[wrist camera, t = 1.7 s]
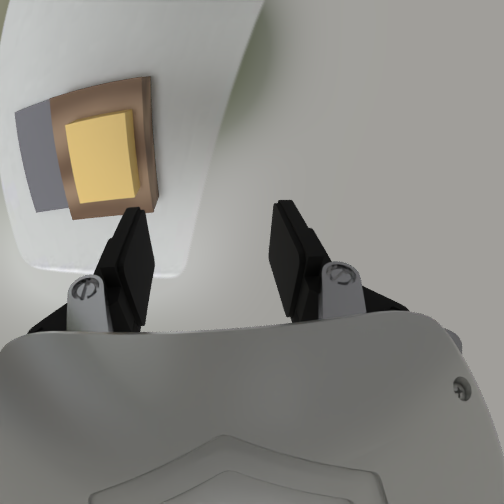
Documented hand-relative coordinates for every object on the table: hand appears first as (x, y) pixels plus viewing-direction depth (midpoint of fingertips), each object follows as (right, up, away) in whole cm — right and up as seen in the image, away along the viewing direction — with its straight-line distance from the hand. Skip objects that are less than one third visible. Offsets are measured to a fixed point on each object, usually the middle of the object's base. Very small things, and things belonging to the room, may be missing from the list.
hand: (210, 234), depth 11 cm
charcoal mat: (-23, +11, +12) cm, 28 cm away
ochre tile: (-12, +9, +11) cm, 18 cm away
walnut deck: (-14, +11, +14) cm, 22 cm away
